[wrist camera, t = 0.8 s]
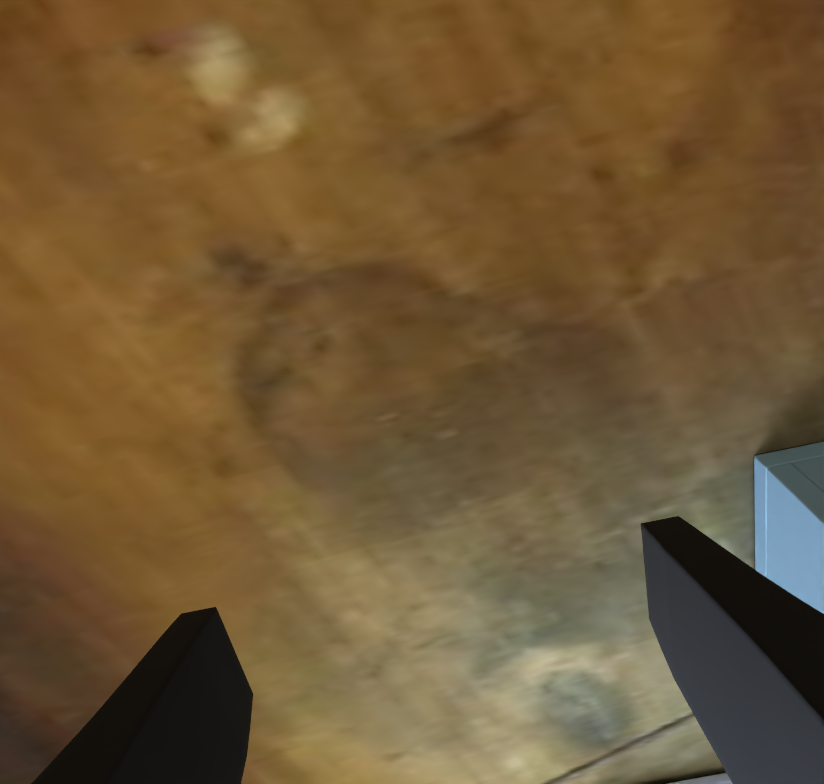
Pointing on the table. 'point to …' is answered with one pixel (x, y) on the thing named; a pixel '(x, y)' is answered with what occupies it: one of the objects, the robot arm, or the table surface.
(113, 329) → the table surface
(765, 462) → the cooler
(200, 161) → the table surface
